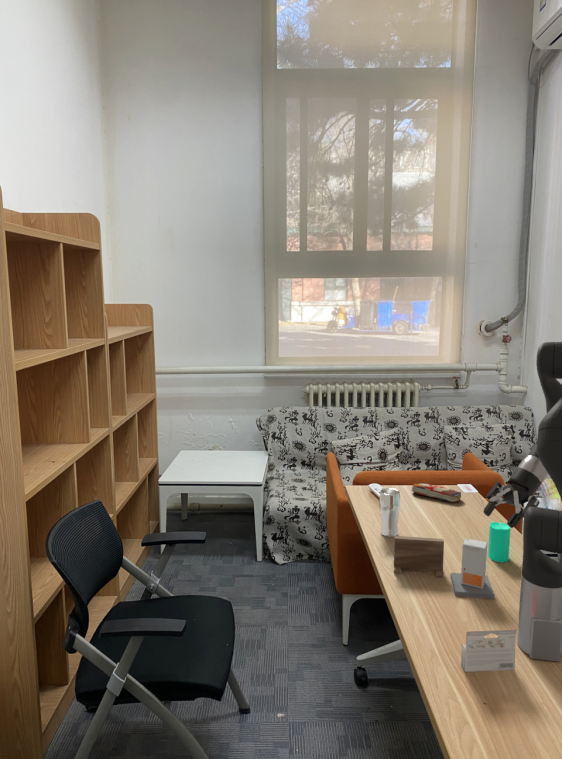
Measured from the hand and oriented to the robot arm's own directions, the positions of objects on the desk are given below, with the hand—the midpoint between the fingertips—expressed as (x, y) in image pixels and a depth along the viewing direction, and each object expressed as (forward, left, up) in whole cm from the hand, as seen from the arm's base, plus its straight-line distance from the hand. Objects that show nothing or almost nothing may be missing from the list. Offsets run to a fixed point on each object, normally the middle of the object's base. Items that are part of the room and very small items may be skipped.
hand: (497, 520), depth 146 cm
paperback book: (+63, +10, -19) cm, 66 cm away
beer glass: (+26, +29, -18) cm, 43 cm away
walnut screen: (+2, +21, -18) cm, 28 cm away
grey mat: (-5, +7, -18) cm, 20 cm away
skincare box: (-5, +7, -17) cm, 19 cm away
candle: (+14, -4, -18) cm, 24 cm away
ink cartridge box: (-38, +9, -18) cm, 43 cm away
